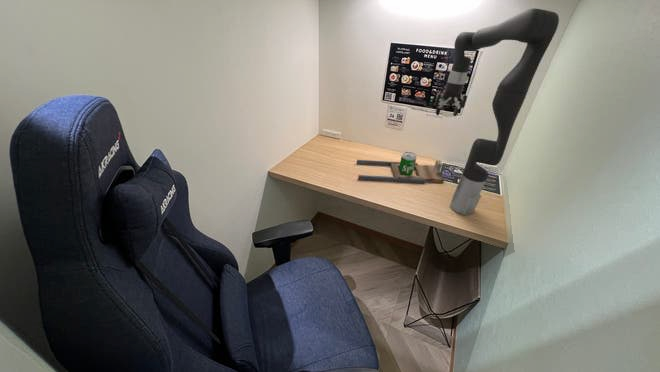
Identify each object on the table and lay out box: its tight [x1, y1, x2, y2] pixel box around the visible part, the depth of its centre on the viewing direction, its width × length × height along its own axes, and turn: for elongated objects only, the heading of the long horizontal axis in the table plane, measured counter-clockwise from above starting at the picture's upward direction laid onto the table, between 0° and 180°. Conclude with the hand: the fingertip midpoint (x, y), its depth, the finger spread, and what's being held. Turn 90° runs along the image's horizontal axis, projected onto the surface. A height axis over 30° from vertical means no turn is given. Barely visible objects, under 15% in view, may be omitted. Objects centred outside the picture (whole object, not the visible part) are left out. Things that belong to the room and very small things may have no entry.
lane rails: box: [356, 159, 426, 185], centre depth 139 cm, size 34×17×2 cm, turn 88°
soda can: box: [399, 151, 417, 176], centre depth 137 cm, size 8×8×12 cm
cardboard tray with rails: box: [390, 159, 445, 184], centre depth 137 cm, size 25×14×8 cm, turn 88°
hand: (445, 115), depth 130 cm, fingers open, 8 cm apart
